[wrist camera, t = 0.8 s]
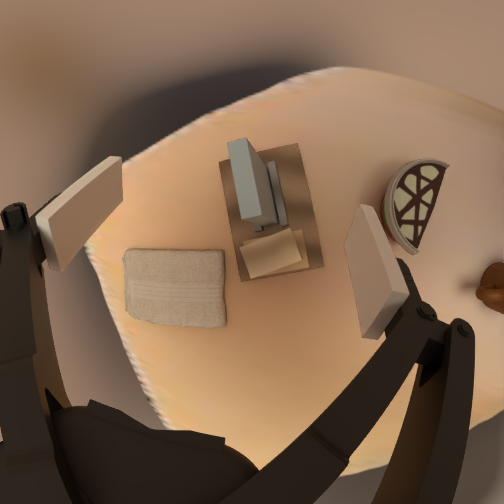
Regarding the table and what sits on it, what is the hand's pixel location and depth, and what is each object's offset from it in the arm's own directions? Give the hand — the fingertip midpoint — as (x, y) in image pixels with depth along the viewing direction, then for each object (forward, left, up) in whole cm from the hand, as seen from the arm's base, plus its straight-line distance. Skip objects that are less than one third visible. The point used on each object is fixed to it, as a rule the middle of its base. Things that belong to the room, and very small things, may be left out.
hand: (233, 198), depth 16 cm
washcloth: (+4, +20, -29) cm, 35 cm away
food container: (-7, -14, -28) cm, 32 cm away
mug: (-27, -20, -28) cm, 44 cm away
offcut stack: (-2, +3, -27) cm, 27 cm away
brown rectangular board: (+3, 0, -28) cm, 28 cm away
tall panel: (+5, 0, -27) cm, 27 cm away
